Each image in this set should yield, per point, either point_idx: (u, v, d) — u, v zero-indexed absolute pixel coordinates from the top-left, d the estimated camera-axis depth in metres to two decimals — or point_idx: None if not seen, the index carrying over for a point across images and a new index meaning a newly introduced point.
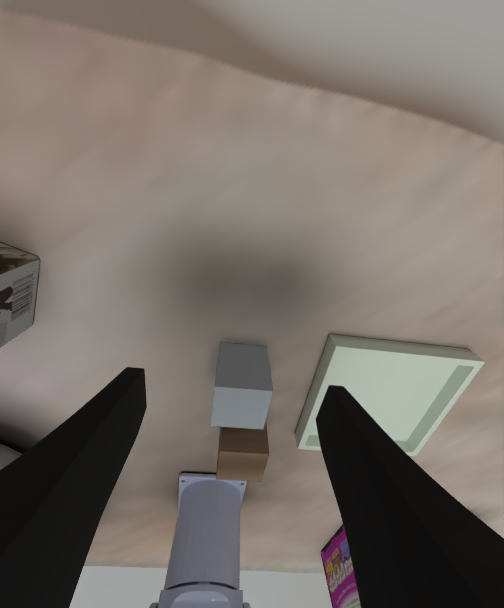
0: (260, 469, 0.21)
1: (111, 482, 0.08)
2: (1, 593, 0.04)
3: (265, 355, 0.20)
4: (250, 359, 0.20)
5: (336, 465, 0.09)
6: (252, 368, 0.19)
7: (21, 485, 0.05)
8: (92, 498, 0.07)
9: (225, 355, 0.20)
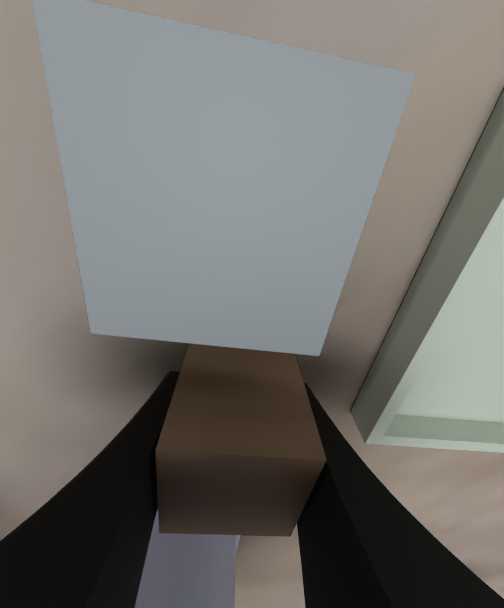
0: (291, 506, 0.07)
1: None
2: (105, 593, 0.04)
3: None
4: None
5: None
6: None
7: (104, 488, 0.05)
8: (152, 500, 0.07)
9: None
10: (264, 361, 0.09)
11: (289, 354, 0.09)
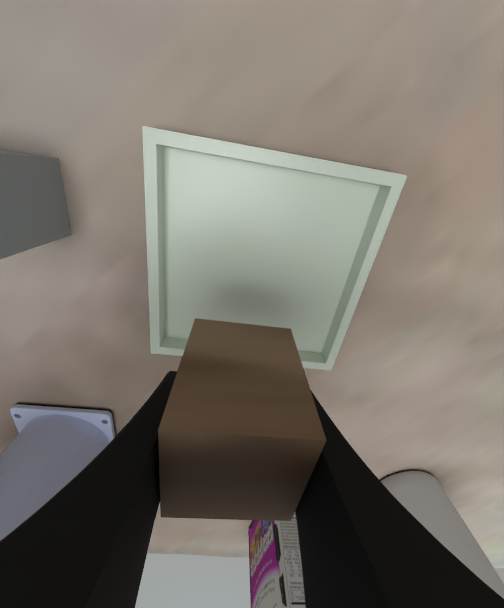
0: (292, 488, 0.07)
1: None
2: (105, 593, 0.04)
3: (37, 156, 0.12)
4: None
5: None
6: None
7: (104, 488, 0.05)
8: (152, 500, 0.07)
9: None
10: (264, 349, 0.09)
11: (289, 343, 0.10)
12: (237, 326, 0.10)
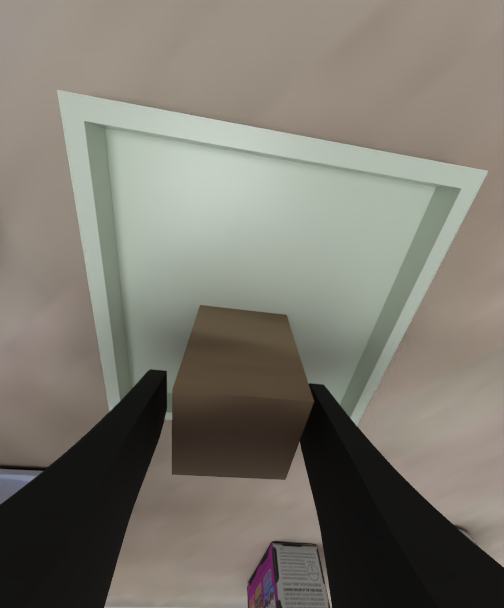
0: (286, 447, 0.08)
1: (138, 483, 0.08)
2: (57, 593, 0.04)
3: None
4: None
5: (313, 464, 0.09)
6: None
7: (65, 487, 0.05)
8: (124, 499, 0.07)
9: None
10: (262, 331, 0.10)
11: (285, 326, 0.11)
12: (238, 312, 0.11)
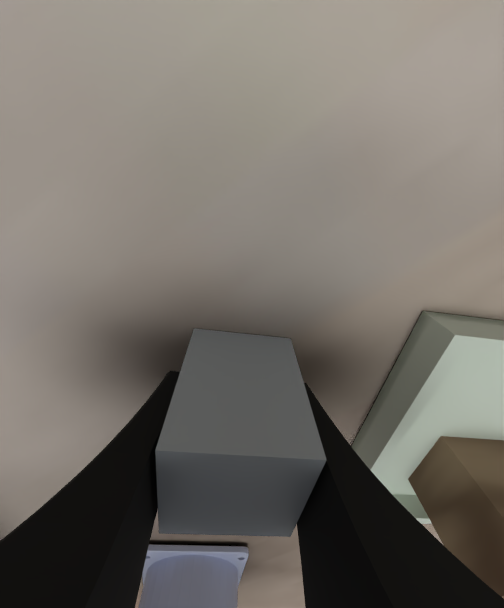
0: None
1: None
2: (105, 593, 0.04)
3: (290, 357, 0.09)
4: (258, 367, 0.09)
5: None
6: (264, 388, 0.08)
7: (104, 488, 0.05)
8: (152, 500, 0.07)
9: (201, 357, 0.09)
10: None
11: None
12: (475, 443, 0.13)
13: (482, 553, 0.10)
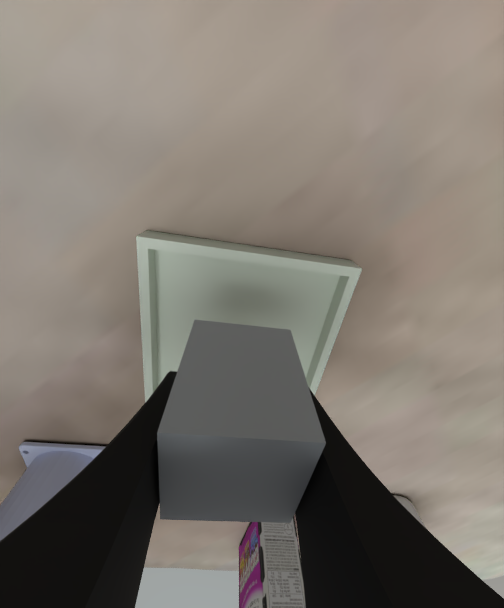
0: None
1: None
2: (105, 593, 0.04)
3: (290, 347, 0.09)
4: (259, 356, 0.09)
5: None
6: (265, 375, 0.08)
7: (104, 488, 0.05)
8: (152, 500, 0.07)
9: (201, 346, 0.09)
10: None
11: None
12: None
13: None
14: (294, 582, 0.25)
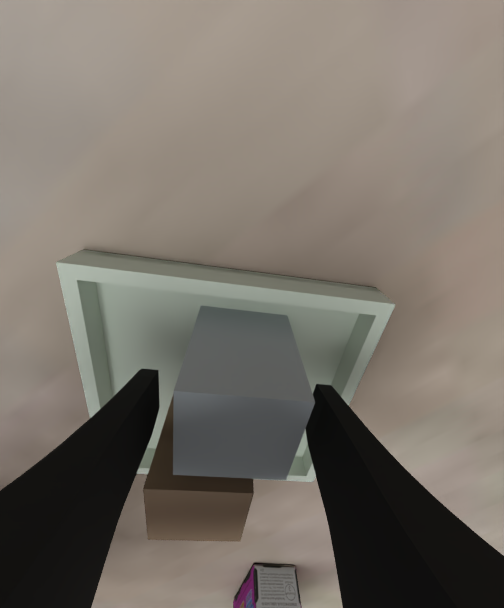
0: (236, 521, 0.10)
1: (129, 482, 0.08)
2: (36, 593, 0.04)
3: (286, 329, 0.10)
4: (258, 336, 0.10)
5: (322, 465, 0.09)
6: (263, 351, 0.09)
7: (49, 486, 0.05)
8: (112, 499, 0.07)
9: (208, 327, 0.10)
10: None
11: None
12: None
13: None
14: None
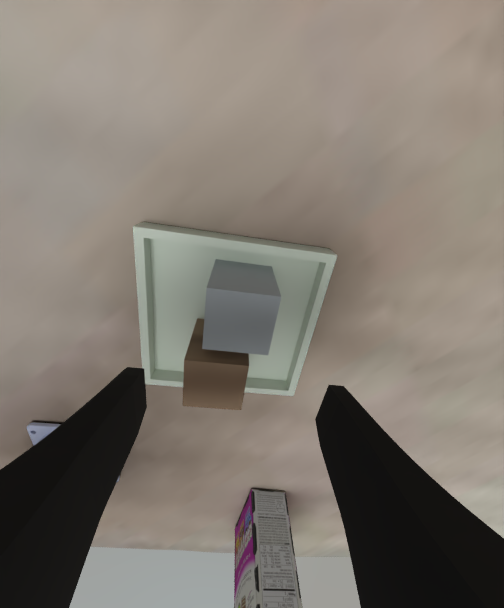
0: (239, 390, 0.16)
1: (111, 482, 0.08)
2: (1, 593, 0.04)
3: (270, 272, 0.17)
4: (252, 273, 0.16)
5: (336, 466, 0.09)
6: (255, 279, 0.15)
7: (21, 485, 0.05)
8: (92, 498, 0.07)
9: (221, 268, 0.16)
10: None
11: None
12: None
13: None
14: (284, 554, 0.27)
